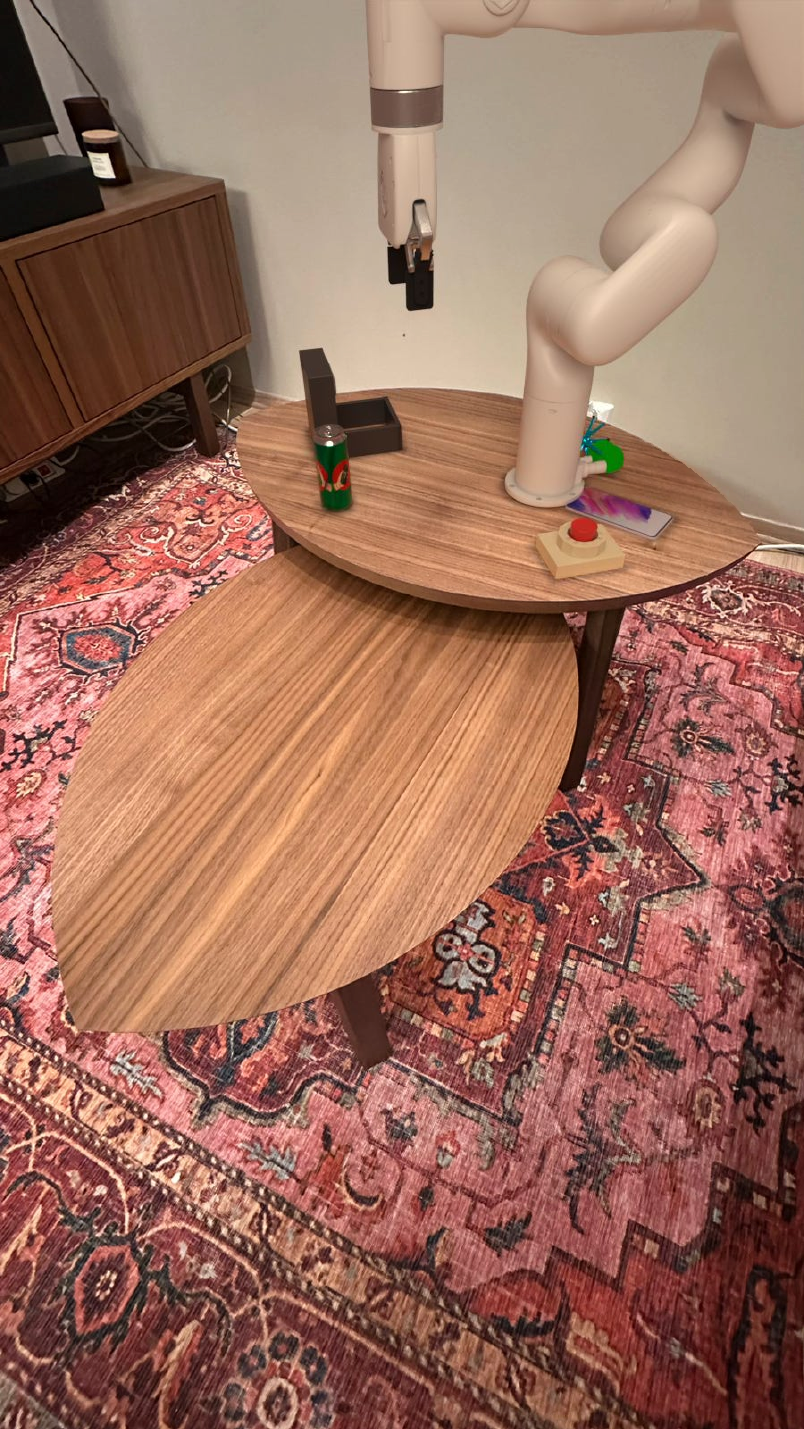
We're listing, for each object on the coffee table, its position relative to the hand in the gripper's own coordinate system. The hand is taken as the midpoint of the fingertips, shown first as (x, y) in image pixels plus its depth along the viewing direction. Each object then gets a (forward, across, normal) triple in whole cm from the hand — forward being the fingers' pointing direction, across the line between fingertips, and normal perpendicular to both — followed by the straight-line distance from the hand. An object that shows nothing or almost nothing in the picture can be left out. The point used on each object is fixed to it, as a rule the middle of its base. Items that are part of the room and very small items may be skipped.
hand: (410, 295), depth 83 cm
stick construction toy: (+31, -8, +33) cm, 46 cm away
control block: (+30, +17, +20) cm, 40 cm away
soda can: (+31, -6, -11) cm, 33 cm away
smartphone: (+31, +8, +30) cm, 44 cm away
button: (+27, +17, +20) cm, 37 cm away
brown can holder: (+30, -26, -5) cm, 40 cm away
